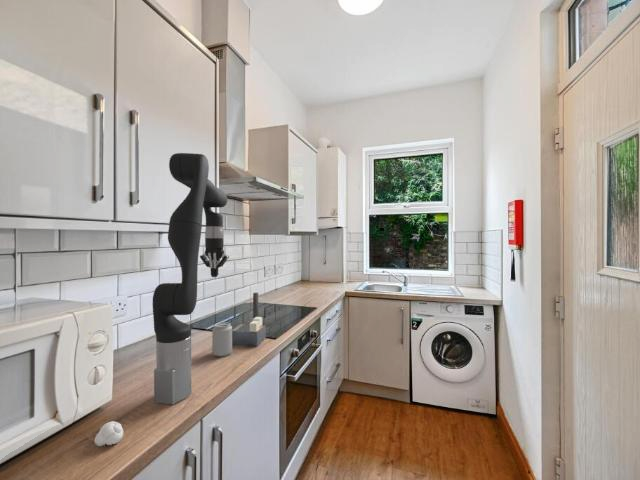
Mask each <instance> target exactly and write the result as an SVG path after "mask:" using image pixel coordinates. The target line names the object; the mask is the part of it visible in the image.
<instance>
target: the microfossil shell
mask: <svg viewBox="0 0 640 480" xmlns="http://www.w3.org/2000/svg"><path fill="white" fill-rule="evenodd" d="M123 436H124V428H123V427H122V424H121V423H120V422H117V421H109V422H107V423H105V424H103V425H102V426H101V427H100V429H99V431H98V433H97V434H96V435H95V438H94V444H95V445H96V446H97V447H104V446H105V444H106V445H107V446H112V444H113V445H115V444H117V443H119V442H120V441H121V440H122V439H123ZM103 445H104V446H103Z"/></svg>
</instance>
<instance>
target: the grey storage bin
mask: <svg viewBox="0 0 640 480" xmlns="http://www.w3.org/2000/svg"><path fill="white" fill-rule="evenodd" d="M266 329H267V327H266V325H263V324H262V326H260V327H259V330H258V331H257V332H251V331H250V323H247V324H246V323H241V324H239V325H237V326H236V327H235V328H232V346H239V347H241V346H242V347H255V348H257V347H259V346H260V345H261V344H262V343H263V342H264V341H265V340H264V339H265V338H267V337H266V336H267V332H266ZM263 340H264V341H263ZM262 341H263V342H262ZM261 342H262V343H261Z"/></svg>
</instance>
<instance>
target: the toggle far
mask: <svg viewBox="0 0 640 480" xmlns="http://www.w3.org/2000/svg"><path fill="white" fill-rule="evenodd" d="M252 321H259V327H260V326H262V325H263V317H262V316H258V317H255V318H254V319H253V318H252Z"/></svg>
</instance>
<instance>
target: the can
mask: <svg viewBox="0 0 640 480" xmlns="http://www.w3.org/2000/svg"><path fill="white" fill-rule="evenodd" d="M232 330H233V326H232V325H231V323H230V322H227V321H222V322H216V323H215V324H214V325H213V327H212V329H211V331H212V332H211V333H212V338H211V339H212V341H211V342H212V354H213V356H215V357H218V358H223V357H227V356H229V355H230V354H231V353H232V352H233V345H232Z"/></svg>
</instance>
